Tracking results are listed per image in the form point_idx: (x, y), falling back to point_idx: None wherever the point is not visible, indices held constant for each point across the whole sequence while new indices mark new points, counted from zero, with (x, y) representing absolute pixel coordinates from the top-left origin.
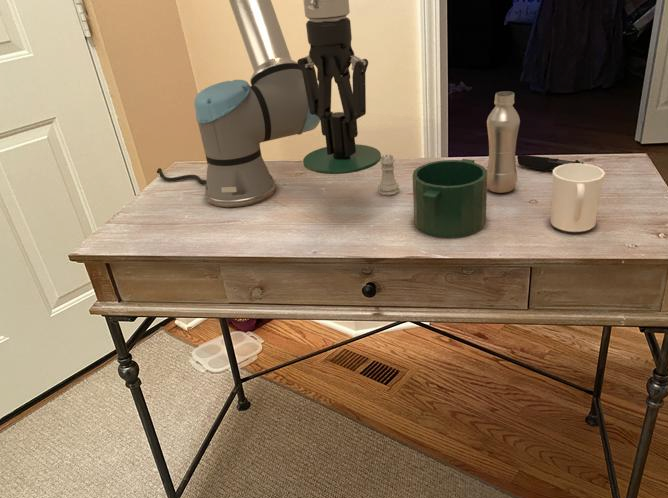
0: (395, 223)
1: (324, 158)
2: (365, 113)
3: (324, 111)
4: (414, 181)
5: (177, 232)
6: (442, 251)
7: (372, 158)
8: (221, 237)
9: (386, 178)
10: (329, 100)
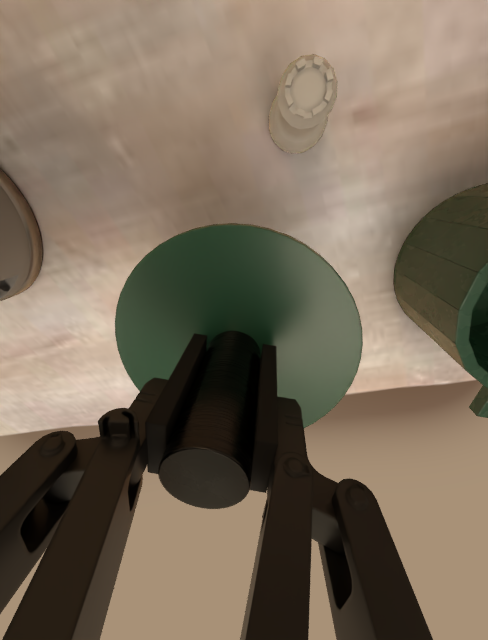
0: (352, 292)
1: None
2: (372, 495)
3: (134, 507)
4: (456, 355)
5: (21, 382)
6: (453, 370)
7: (339, 355)
8: (91, 385)
9: (301, 132)
10: (112, 536)
